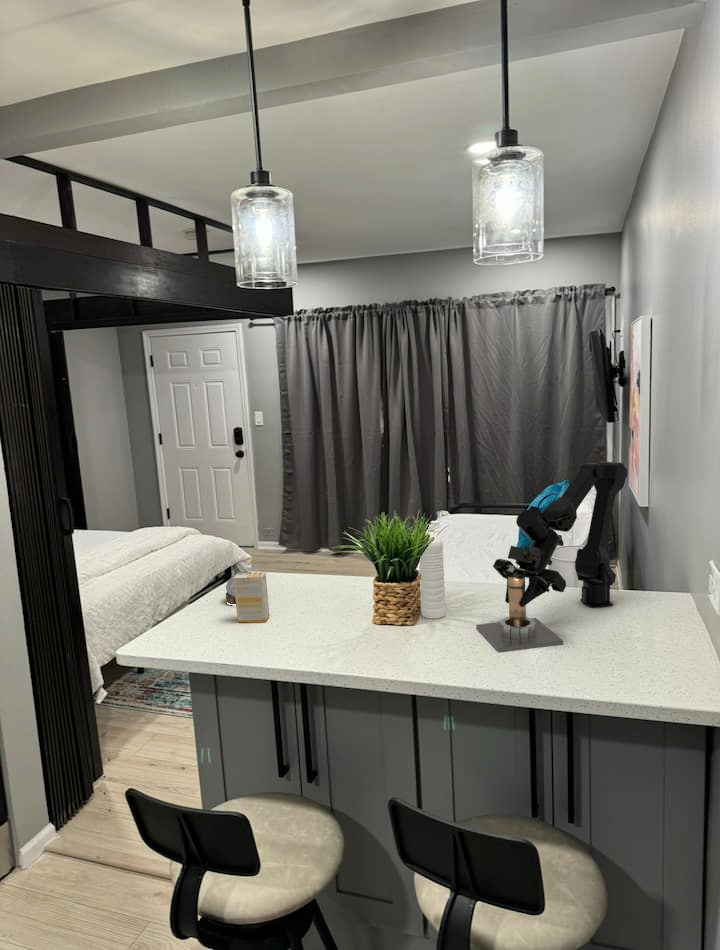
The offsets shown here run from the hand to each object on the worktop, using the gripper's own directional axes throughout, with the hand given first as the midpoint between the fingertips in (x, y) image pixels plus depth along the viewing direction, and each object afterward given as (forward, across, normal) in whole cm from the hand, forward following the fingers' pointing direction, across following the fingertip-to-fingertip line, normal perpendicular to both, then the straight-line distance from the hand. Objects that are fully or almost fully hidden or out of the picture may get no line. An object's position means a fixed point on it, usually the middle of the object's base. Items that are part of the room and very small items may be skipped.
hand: (513, 604), depth 169 cm
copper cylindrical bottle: (+4, 0, +6) cm, 7 cm away
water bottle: (+7, -26, +5) cm, 28 cm away
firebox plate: (+5, 0, +7) cm, 9 cm away
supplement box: (+33, -60, -21) cm, 72 cm away
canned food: (+29, -77, -17) cm, 84 cm away
